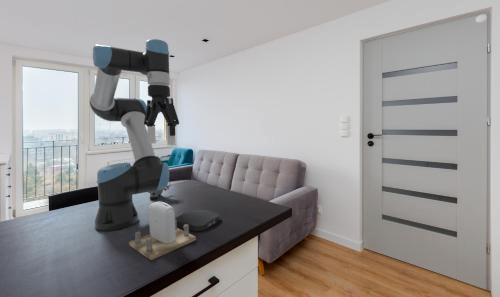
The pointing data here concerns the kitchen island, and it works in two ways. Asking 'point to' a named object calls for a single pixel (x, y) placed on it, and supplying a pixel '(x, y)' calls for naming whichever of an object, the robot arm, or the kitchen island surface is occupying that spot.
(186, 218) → the media streaming box
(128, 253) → the kitchen island surface
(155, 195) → the figurine
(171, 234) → the photo printer
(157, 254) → the peg board
